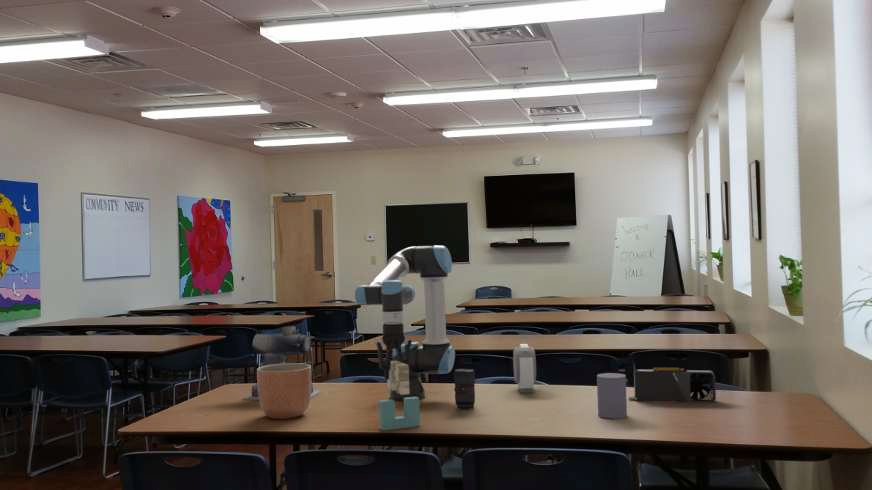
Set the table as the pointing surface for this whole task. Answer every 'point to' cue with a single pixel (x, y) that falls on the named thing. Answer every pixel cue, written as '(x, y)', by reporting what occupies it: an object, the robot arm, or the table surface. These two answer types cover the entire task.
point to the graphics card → (673, 385)
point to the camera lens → (464, 388)
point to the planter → (284, 389)
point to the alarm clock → (524, 367)
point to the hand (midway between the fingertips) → (394, 387)
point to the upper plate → (399, 377)
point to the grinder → (279, 351)
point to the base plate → (392, 422)
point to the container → (611, 395)
